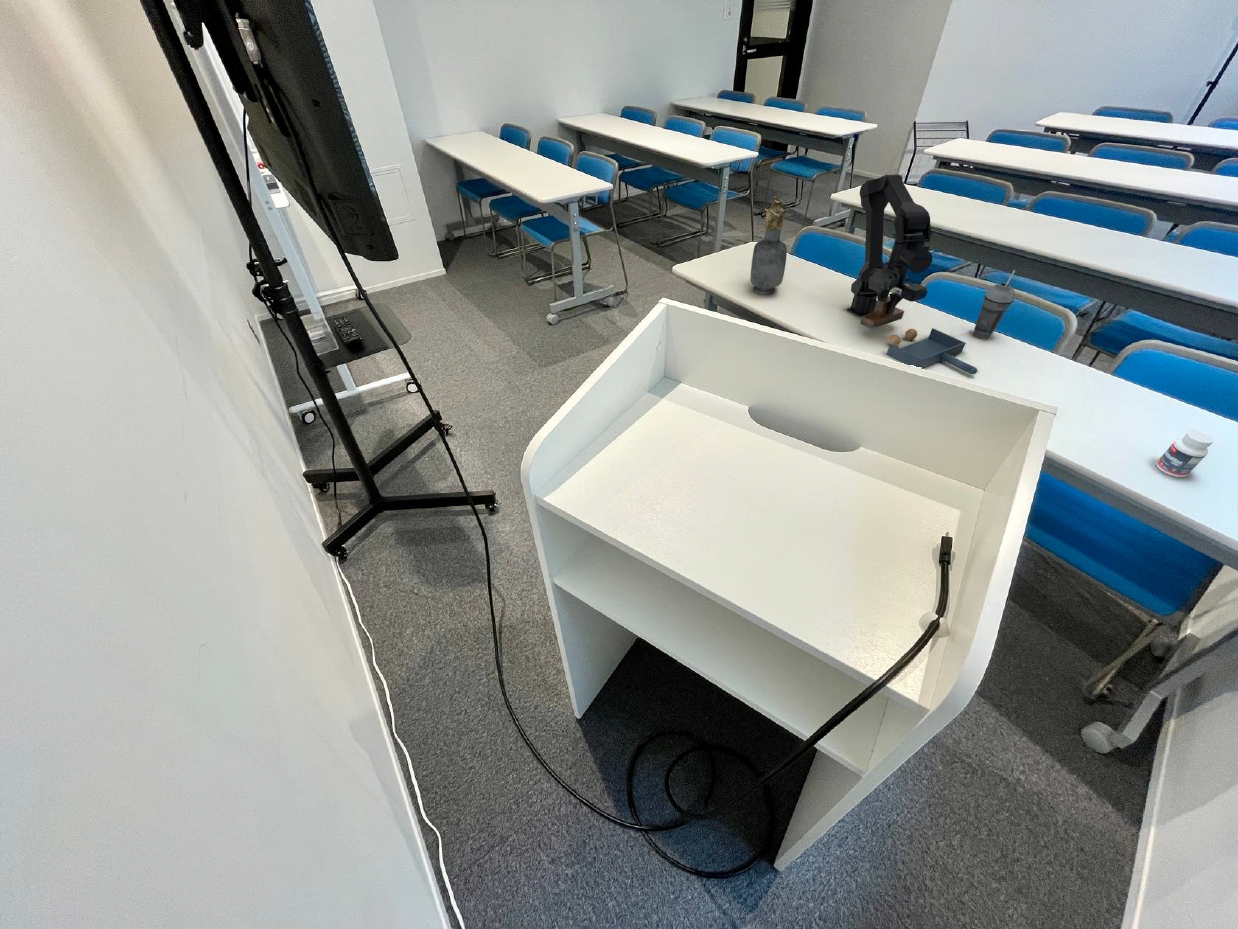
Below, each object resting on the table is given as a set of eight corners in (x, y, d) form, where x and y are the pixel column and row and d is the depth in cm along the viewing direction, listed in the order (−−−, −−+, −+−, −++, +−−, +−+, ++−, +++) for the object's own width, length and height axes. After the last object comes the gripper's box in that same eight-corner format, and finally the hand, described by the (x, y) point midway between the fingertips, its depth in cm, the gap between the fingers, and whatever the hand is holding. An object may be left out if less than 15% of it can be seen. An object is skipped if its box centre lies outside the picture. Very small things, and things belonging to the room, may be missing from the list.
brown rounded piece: (901, 338, 157) (904, 328, 155) (908, 335, 158) (912, 325, 156) (910, 342, 155) (913, 332, 153) (917, 340, 156) (921, 330, 154)
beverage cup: (989, 329, 159) (1020, 263, 146) (999, 341, 153) (1033, 273, 140) (963, 329, 160) (992, 263, 146) (973, 341, 154) (1004, 273, 141)
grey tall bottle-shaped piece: (748, 298, 181) (760, 204, 161) (748, 277, 195) (760, 188, 175) (780, 300, 179) (797, 205, 159) (778, 278, 193) (794, 188, 173)
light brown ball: (884, 344, 154) (887, 334, 152) (892, 341, 156) (895, 331, 153) (893, 349, 152) (896, 339, 150) (901, 346, 153) (904, 336, 151)
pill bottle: (1148, 462, 113) (1176, 429, 107) (1172, 460, 113) (1200, 427, 107) (1170, 478, 109) (1200, 445, 103) (1194, 476, 109) (1225, 443, 103)
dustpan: (886, 354, 150) (890, 343, 148) (929, 337, 156) (933, 327, 154) (951, 387, 137) (956, 377, 134) (995, 368, 143) (1000, 358, 141)
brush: (859, 323, 158) (866, 301, 153) (890, 313, 162) (897, 291, 158) (871, 329, 155) (878, 307, 150) (901, 318, 159) (909, 296, 155)
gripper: (853, 254, 150) (840, 306, 160) (909, 276, 137) (890, 331, 148) (881, 247, 154) (866, 298, 164) (937, 267, 141) (917, 321, 152)
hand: (883, 311), depth 157 cm, fingers closed on brush, 2 cm apart
